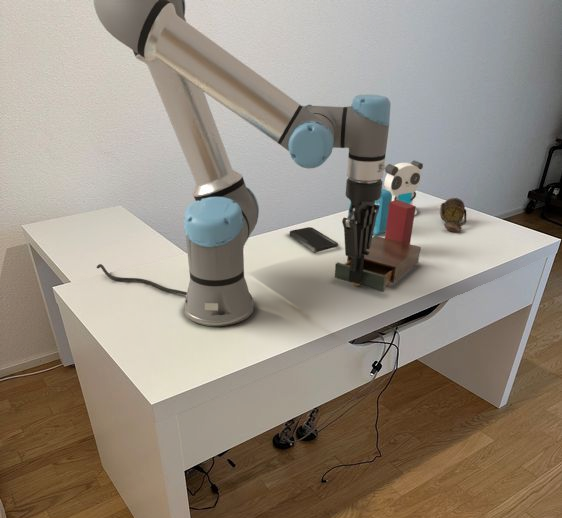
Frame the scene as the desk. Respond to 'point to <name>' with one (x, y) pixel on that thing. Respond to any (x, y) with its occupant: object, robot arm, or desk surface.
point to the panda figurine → (403, 181)
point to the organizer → (392, 255)
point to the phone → (313, 239)
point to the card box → (400, 221)
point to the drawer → (367, 275)
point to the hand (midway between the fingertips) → (355, 281)
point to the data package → (381, 211)
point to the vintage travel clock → (453, 214)
